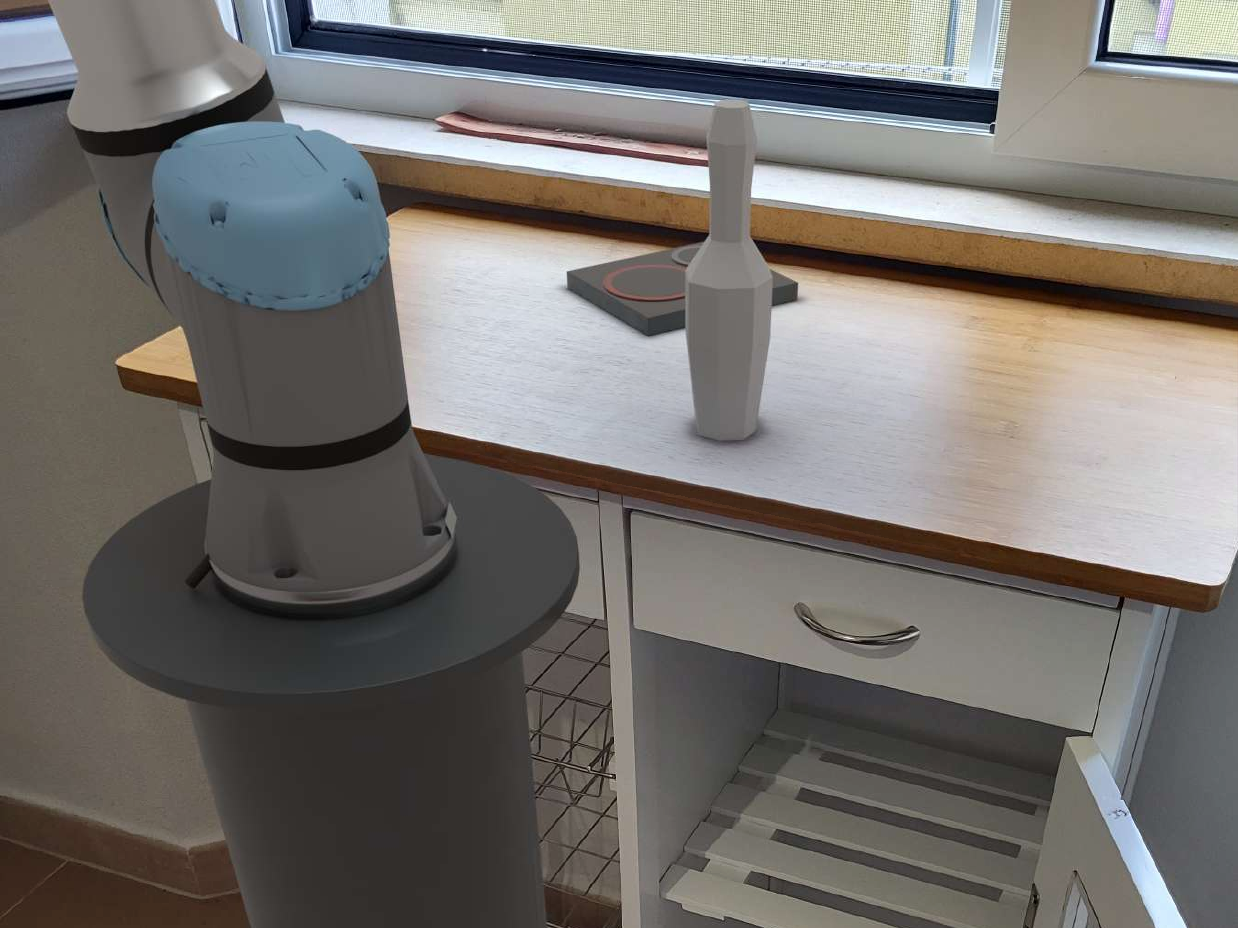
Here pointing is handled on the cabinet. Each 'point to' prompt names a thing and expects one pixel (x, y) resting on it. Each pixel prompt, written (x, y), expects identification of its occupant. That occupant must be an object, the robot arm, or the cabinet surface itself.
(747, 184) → the low poly bottle
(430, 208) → the cabinet surface
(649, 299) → the hob
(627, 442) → the cabinet surface
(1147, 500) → the cabinet surface
